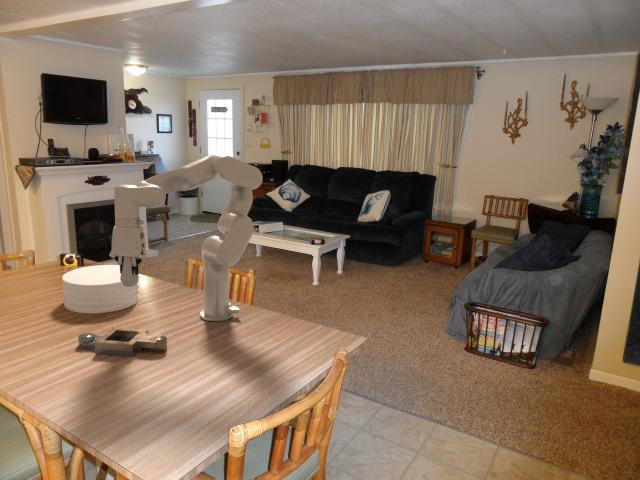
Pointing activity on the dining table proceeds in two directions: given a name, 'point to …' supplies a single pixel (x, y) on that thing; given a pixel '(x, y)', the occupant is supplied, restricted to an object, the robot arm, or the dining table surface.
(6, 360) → the dining table surface
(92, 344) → the lower end link
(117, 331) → the upper end link
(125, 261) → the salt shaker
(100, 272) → the plate stack
